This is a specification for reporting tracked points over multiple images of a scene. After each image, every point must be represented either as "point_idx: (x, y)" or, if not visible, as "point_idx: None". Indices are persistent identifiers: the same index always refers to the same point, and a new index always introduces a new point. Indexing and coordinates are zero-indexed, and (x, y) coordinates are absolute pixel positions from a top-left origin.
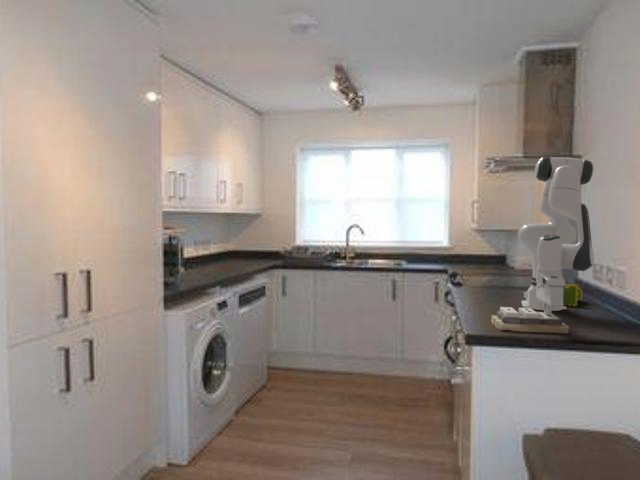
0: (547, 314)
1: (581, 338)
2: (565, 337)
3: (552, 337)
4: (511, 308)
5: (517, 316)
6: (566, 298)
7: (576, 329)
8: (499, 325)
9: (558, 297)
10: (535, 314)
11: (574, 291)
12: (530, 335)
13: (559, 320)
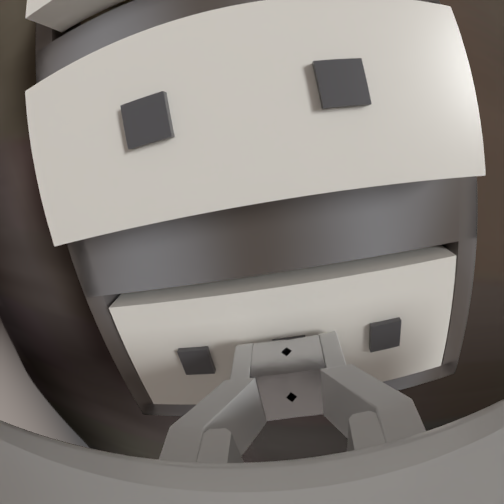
0: (237, 354)
1: (85, 395)
2: (57, 337)
3: (21, 273)
4: None
5: (50, 20)
6: None
7: (296, 426)
8: None
9: None
10: (50, 206)
11: None
12: (6, 157)
13: (134, 394)
